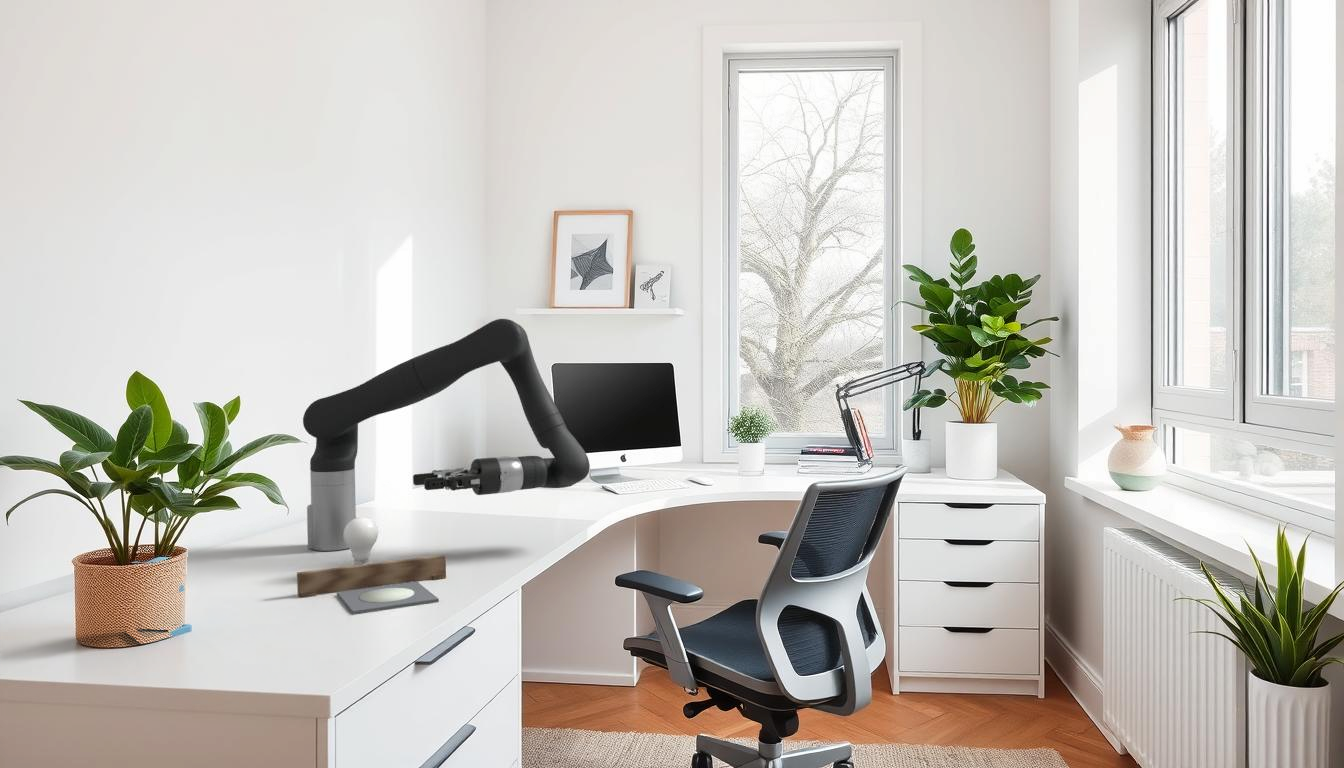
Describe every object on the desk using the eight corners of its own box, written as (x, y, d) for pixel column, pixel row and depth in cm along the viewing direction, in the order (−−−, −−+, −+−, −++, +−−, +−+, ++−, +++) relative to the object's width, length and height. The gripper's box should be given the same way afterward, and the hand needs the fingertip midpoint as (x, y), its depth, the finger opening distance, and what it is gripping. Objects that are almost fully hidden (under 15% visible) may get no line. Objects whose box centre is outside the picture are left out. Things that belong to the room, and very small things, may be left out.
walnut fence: (299, 598, 155) (299, 575, 155) (296, 594, 157) (296, 571, 157) (447, 578, 168) (446, 557, 168) (442, 574, 171) (442, 554, 170)
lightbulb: (372, 577, 169) (371, 520, 169) (338, 577, 169) (337, 520, 169) (383, 569, 175) (382, 514, 175) (351, 569, 175) (350, 514, 175)
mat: (353, 614, 144) (353, 610, 144) (337, 595, 156) (337, 591, 156) (438, 601, 152) (438, 597, 152) (417, 584, 164) (417, 580, 164)
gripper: (485, 454, 192) (409, 460, 183) (508, 460, 179) (428, 466, 171) (486, 489, 192) (410, 496, 184) (509, 497, 180) (429, 505, 171)
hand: (419, 482), depth 177 cm, fingers open, 8 cm apart
